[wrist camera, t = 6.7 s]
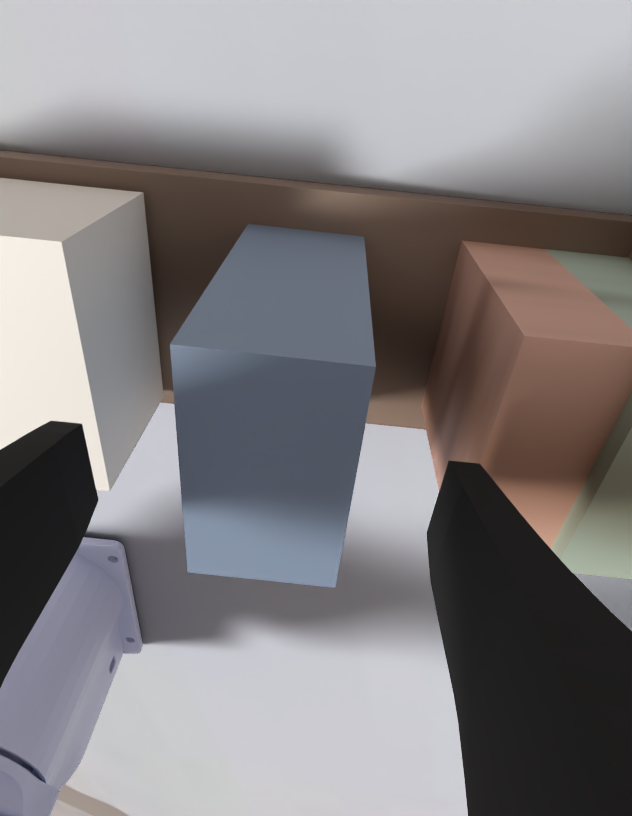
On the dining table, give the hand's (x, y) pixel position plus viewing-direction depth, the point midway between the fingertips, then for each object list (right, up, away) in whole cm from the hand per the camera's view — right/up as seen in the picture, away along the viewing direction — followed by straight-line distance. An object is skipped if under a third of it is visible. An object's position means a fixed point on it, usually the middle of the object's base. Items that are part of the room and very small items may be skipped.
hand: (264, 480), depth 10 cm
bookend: (-8, +5, +6) cm, 11 cm away
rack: (0, +5, +7) cm, 9 cm away
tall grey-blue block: (+1, +4, +7) cm, 8 cm away
